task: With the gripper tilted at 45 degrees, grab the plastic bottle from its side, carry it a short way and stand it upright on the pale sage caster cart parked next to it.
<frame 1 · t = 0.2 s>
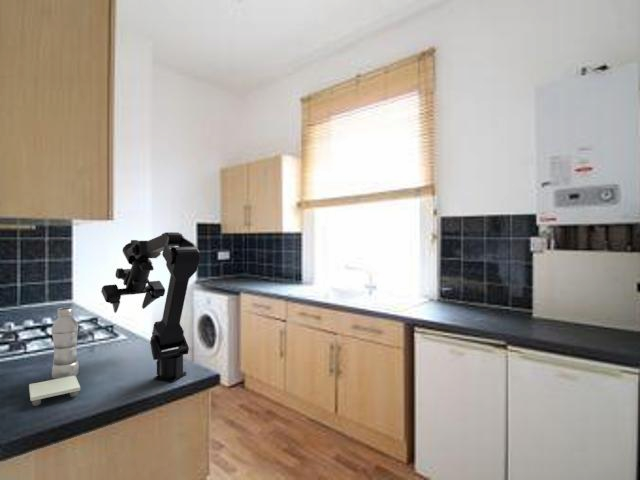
hand: (129, 309, 130), 15 cm above the worktop, tool tilted 35°, fingers open, 9 cm apart
caster cart: (54, 395, 96), on the worktop
plastic bottle: (65, 379, 107), on the worktop
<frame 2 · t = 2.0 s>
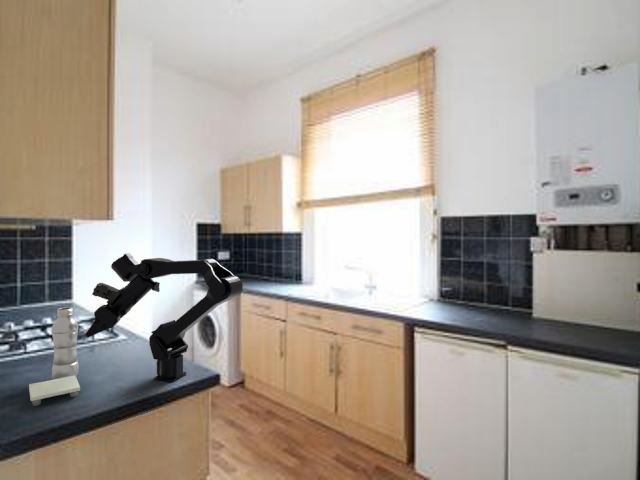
hand: (91, 331, 109), 13 cm above the worktop, tool tilted 45°, fingers open, 9 cm apart
nothing on the worktop moved.
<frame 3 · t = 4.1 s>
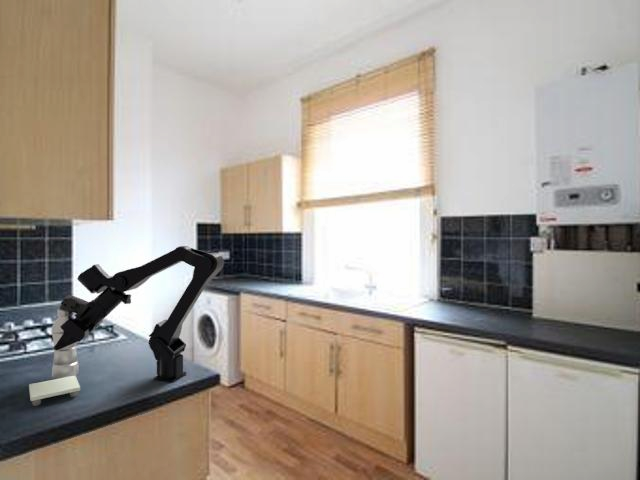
hand: (59, 345, 106), 10 cm above the worktop, tool tilted 45°, fingers closed on plastic bottle, 6 cm apart
plastic bottle: (65, 379, 107), on the worktop, touching gripper
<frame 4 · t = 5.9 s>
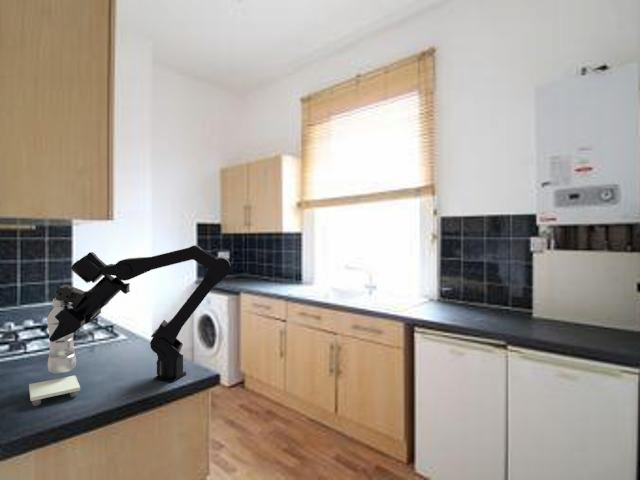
hand: (55, 337, 102), 13 cm above the worktop, tool tilted 45°, fingers closed on plastic bottle, 6 cm apart
plastic bottle: (62, 372, 102), point 3 cm above the worktop, touching gripper
when the fingers open (13 cm above the worktop, at t = 7.7 s): plastic bottle stays where it is, resting on caster cart.
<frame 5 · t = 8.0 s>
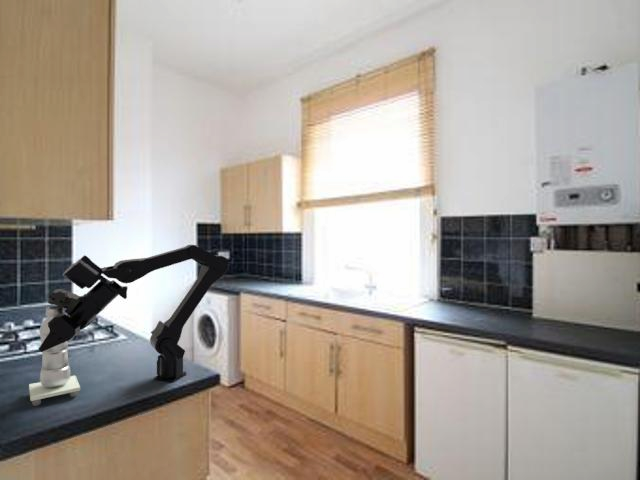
hand: (47, 344, 96), 13 cm above the worktop, tool tilted 45°, fingers open, 9 cm apart
plastic bottle: (55, 386, 96), point 2 cm above the worktop, touching caster cart
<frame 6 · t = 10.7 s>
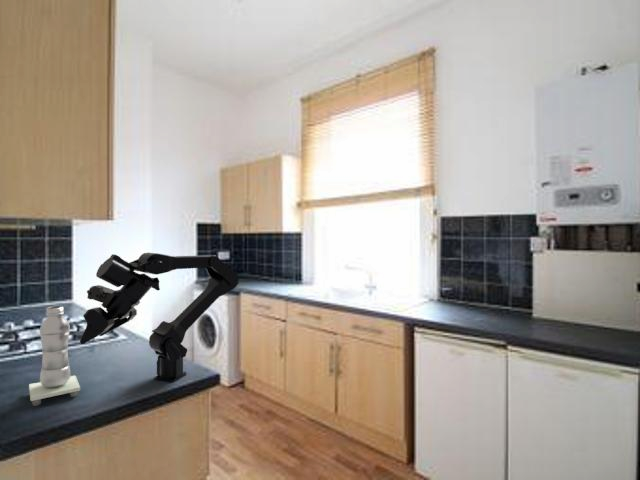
hand: (90, 338, 100), 13 cm above the worktop, tool tilted 40°, fingers open, 9 cm apart
nothing on the worktop moved.
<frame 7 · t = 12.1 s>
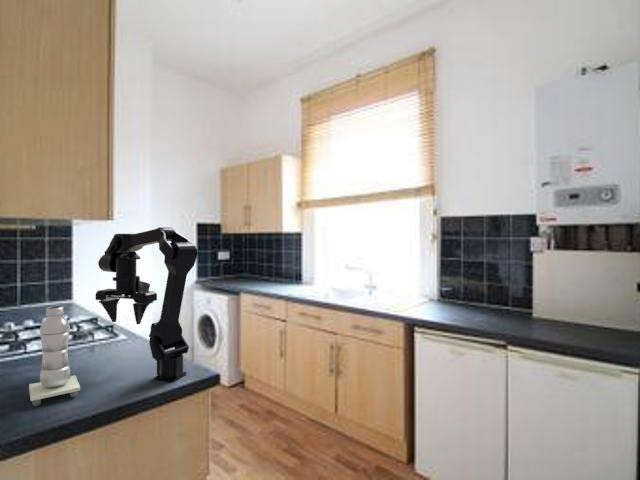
hand: (126, 323, 119), 13 cm above the worktop, tool pointing down, fingers open, 9 cm apart
nothing on the worktop moved.
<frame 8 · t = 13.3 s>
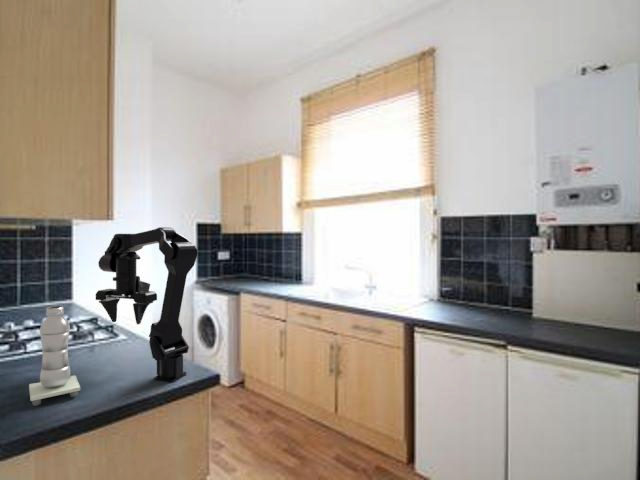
hand: (126, 323, 119), 13 cm above the worktop, tool pointing down, fingers open, 9 cm apart
nothing on the worktop moved.
at the end: plastic bottle inside the target area on the caster cart (0.2 cm from its centre), point 2.3 cm above the caster cart's base; plastic bottle tilted 0°; the gripper is holding nothing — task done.
